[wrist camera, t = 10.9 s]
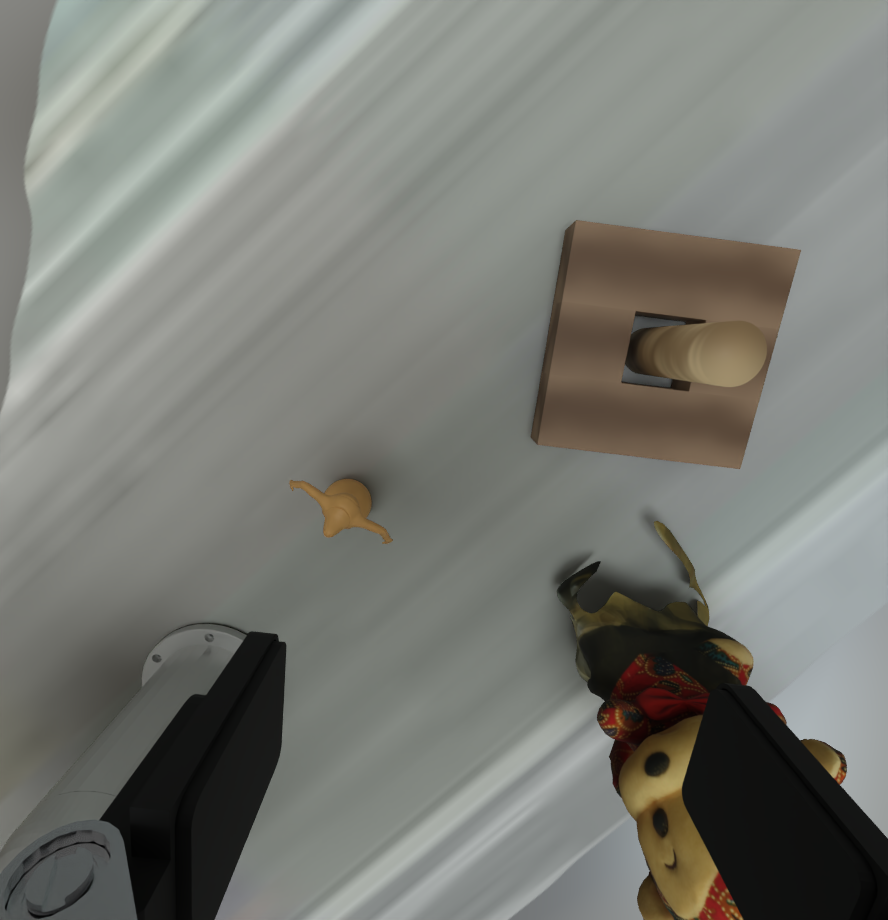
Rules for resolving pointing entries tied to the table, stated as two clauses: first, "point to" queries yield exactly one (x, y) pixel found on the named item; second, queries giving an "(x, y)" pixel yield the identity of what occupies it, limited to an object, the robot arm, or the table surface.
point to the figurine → (344, 506)
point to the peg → (699, 352)
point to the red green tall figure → (663, 729)
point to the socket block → (609, 330)
